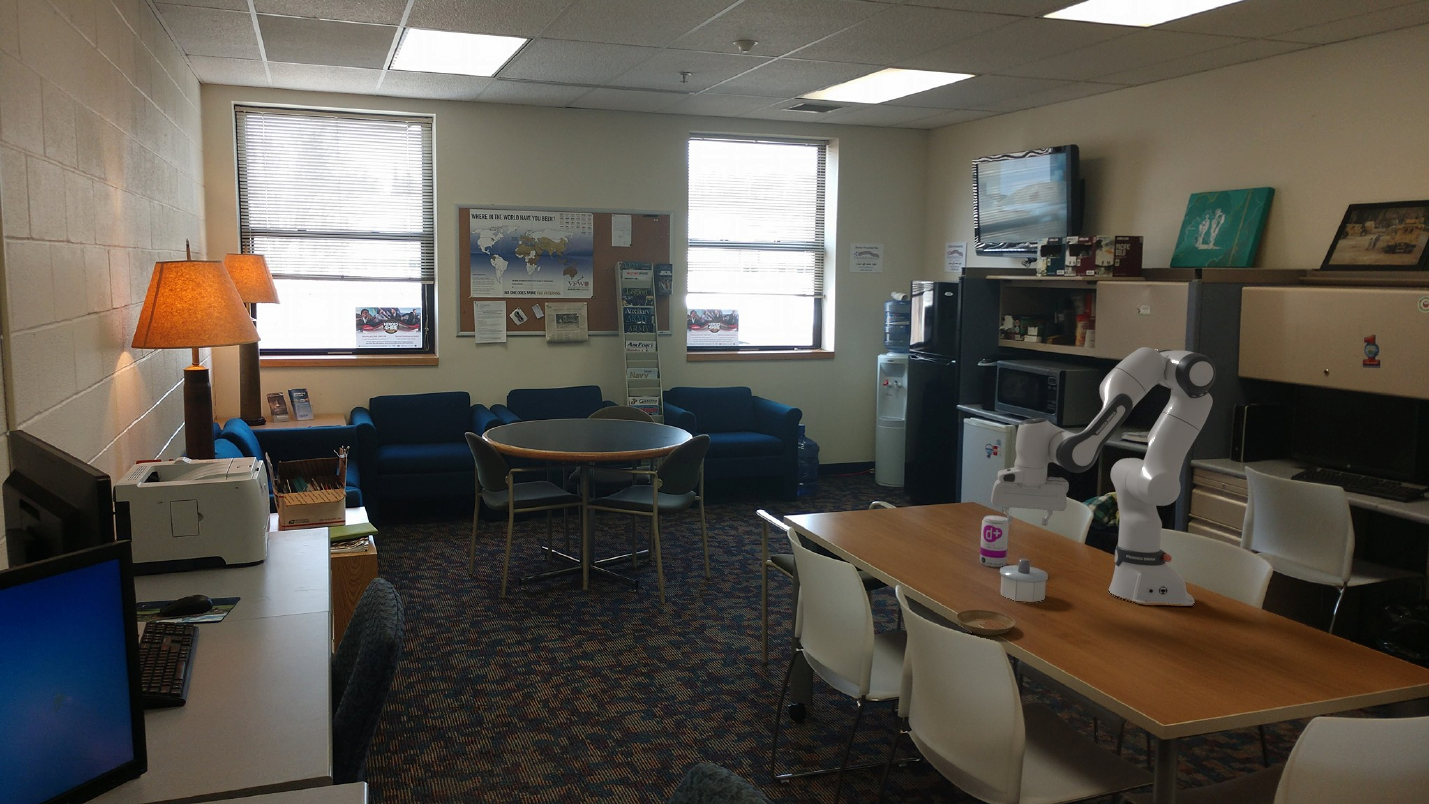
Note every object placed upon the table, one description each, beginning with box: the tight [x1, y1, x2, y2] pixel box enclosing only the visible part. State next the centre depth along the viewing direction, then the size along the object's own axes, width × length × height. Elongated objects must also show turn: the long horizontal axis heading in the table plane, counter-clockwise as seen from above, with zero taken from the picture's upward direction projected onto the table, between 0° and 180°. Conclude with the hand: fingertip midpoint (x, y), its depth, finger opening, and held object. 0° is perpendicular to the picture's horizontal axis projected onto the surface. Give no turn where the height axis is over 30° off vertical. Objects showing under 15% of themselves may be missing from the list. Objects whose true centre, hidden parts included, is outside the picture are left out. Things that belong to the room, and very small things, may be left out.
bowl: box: [1000, 575, 1047, 602], centre depth 273 cm, size 12×12×6 cm
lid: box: [999, 557, 1049, 583], centre depth 273 cm, size 13×13×4 cm
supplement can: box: [979, 514, 1010, 568], centre depth 304 cm, size 8×8×15 cm
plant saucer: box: [955, 609, 1016, 636], centre depth 247 cm, size 15×15×3 cm
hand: (1026, 523), depth 271 cm, fingers open, 8 cm apart
